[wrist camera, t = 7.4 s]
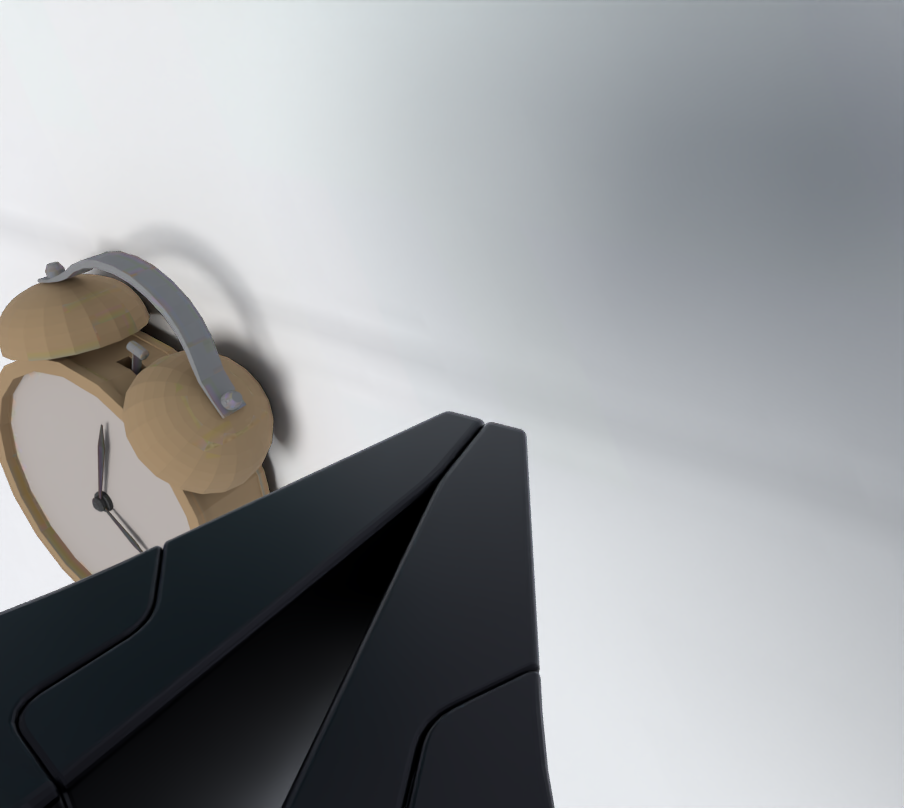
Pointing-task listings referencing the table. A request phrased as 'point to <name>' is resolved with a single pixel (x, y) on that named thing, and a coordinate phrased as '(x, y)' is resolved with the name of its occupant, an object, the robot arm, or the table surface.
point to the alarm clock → (122, 415)
